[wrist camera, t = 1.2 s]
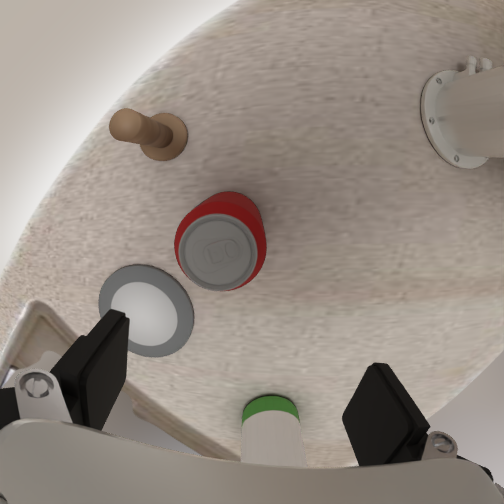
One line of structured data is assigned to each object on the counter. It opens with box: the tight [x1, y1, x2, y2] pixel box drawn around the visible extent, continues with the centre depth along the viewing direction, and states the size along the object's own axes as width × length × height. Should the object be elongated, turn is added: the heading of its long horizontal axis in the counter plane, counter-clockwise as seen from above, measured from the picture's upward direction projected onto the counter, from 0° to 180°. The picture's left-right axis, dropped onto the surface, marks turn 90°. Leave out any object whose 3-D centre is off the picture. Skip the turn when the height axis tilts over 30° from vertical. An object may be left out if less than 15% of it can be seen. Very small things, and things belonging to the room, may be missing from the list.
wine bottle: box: [241, 396, 308, 467], centre depth 25 cm, size 8×8×30 cm
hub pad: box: [99, 264, 194, 357], centre depth 34 cm, size 12×12×1 cm
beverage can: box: [174, 192, 267, 291], centre depth 26 cm, size 7×7×12 cm
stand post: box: [109, 108, 188, 161], centre depth 24 cm, size 5×5×11 cm
